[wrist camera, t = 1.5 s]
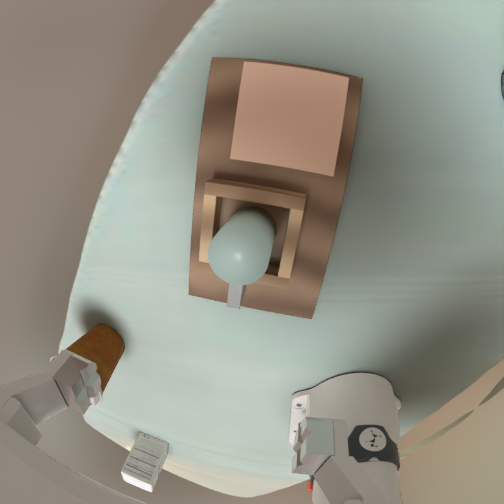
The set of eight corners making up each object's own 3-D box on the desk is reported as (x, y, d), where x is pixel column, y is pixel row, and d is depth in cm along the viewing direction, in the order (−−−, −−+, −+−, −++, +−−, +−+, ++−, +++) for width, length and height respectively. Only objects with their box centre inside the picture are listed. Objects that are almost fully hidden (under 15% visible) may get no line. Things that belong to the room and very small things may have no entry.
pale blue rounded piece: (267, 280, 32) (258, 319, 25) (223, 271, 32) (203, 307, 26) (279, 210, 29) (273, 233, 22) (231, 202, 29) (210, 222, 22)
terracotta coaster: (332, 175, 27) (333, 176, 26) (231, 158, 28) (229, 158, 27) (347, 79, 23) (349, 77, 22) (245, 63, 24) (243, 61, 23)
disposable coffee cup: (134, 368, 43) (102, 418, 32) (90, 348, 44) (54, 391, 33) (132, 328, 40) (91, 381, 29) (83, 307, 40) (38, 350, 29)
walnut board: (311, 314, 34) (312, 331, 31) (191, 290, 35) (181, 305, 32) (360, 80, 23) (368, 73, 20) (214, 59, 25) (204, 51, 21)
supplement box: (168, 454, 56) (152, 493, 44) (140, 442, 56) (122, 480, 44) (169, 443, 53) (152, 485, 41) (140, 430, 53) (119, 471, 41)
